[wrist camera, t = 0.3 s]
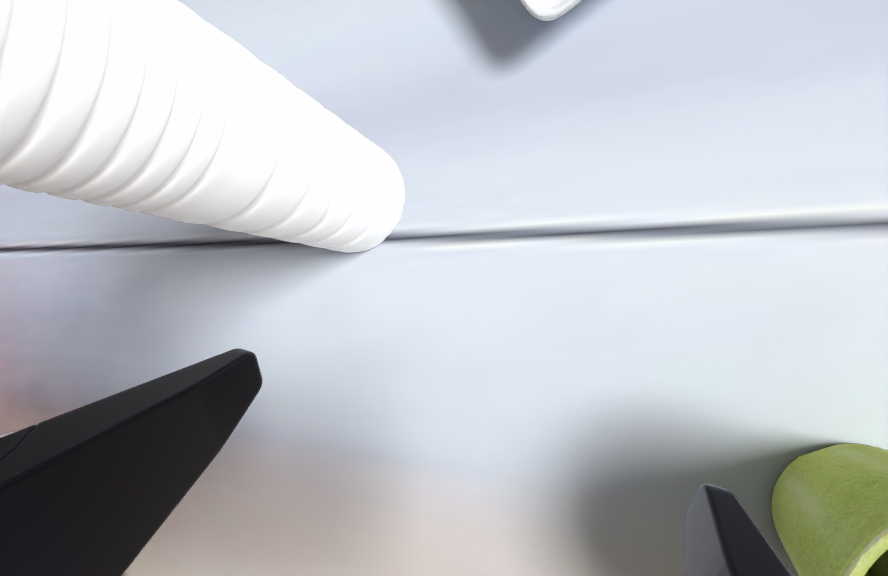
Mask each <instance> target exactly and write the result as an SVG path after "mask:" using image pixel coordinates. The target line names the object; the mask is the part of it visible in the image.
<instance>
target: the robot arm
mask: <svg viewBox="0 0 888 576" xmlns="http://www.w3.org/2000/svg"><path fill="white" fill-rule="evenodd" d="M261 386H262V376H261V372H260V369H259V365H258V361H257V358H256V355H255V354H254V353H252V352H250V351H246V350H243V349H233V350H230V351H228V352H225V353H223V354H220V355H217V356H215V357H212V358H209V359H207V360H204V361H201V362H199V363H196V364H194V365H191V366H188V367H186V368H183V369H180V370H178V371H175V372H172V373H170V374H167V375H165V376H162V377H159V378H157V379H154V380H151V381H149V382H146V383H143V384H141V385H138V386H136V387H133V388H130V389H128V390H125V391H122V392H120V393H117V394H114V395H112V396H109V397H107V398H104V399H101V400H99V401H96V402H93V403H91V404H88V405H85V406H83V407H80V408H78V409H75V410H72V411H70V412H67V413H64V414H62V415H59V416H57V417H54V418H51V419H49V420H46V421H43V422H41V423H39V424H38V425H32V426H30V427H27V428H25V429H22V430H19V431H17V432H14V433H12V434H9V435H6V436H4V437H1V438H0V576H122V575H123V573H124V572H125V571H126V569H127V568H128V567H129V566H130V564H131V563H132V562H133V561H134V559H135V558H136V557H137V555H138V554H139V553H140V552H141V550H142V549H143V548H144V547H145V545H146V544H147V543H148V542H149V540H150V539H151V538H152V536H153V535H154V534H155V533H156V531H157V530H158V529H159V528H160V526H161V525H162V524H163V522H164V521H165V520H166V519H167V517H168V516H169V515H170V514H171V512H172V511H173V510H174V509H175V507H176V506H177V505H178V503H179V502H180V501H181V500H182V498H183V497H184V496H185V495H186V493H187V492H188V491H189V489H190V488H191V487H192V486H193V484H194V483H195V482H196V481H197V479H198V478H199V477H200V476H201V474H202V473H203V472H204V470H205V469H206V468H207V467H208V465H209V464H210V463H211V462H212V460H213V459H214V458H215V456H216V455H217V454H218V452H219V451H220V450H221V448H222V447H223V445H224V444H225V443H226V441H227V440H228V438H229V437H230V435H231V434H232V432H233V430H234V429H235V427H236V426H237V424H238V423H239V421H240V420H241V418H242V417H243V415H244V414H245V412H246V411H247V409H248V407H249V406H250V404H251V403H252V401H253V400H254V398H255V397H256V395H257V394H258V392H259V390H260V388H261ZM684 576H792V575H791V573H790V572H789V571H788V569H787V568H786V566H785V565H784V563H783V562H782V561H781V559H780V558H779V556H778V555H777V554H776V552H775V551H774V549H773V548H772V547H771V545H770V544H769V542H768V541H767V540H766V538H765V537H764V535H763V534H762V532H761V531H760V530H759V528H758V527H757V525H756V524H755V523H754V521H753V520H752V518H751V517H750V516H749V514H748V513H747V511H746V510H745V509H744V507H743V506H742V504H741V503H740V501H739V500H738V499H737V497H736V496H735V495H734V494H733V493H732V492H731V491H730V490H728V489H725V488H722V487H718V486H715V485H711V484H708V483H704V484H702V485H700V487H699V488H698V490H697V492H696V494H695V496H694V497H693V499H692V501H691V503H690V505H689V507H688V509H687V511H686V514H685V518H684Z"/></svg>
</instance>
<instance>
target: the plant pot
mask: <svg viewBox="0 0 888 576" xmlns="http://www.w3.org/2000/svg"><path fill="white" fill-rule="evenodd" d="M771 511H772V518H773V522H774V525H775V528H776V531H777V533H778V536H779V538H780V540H781V542H782V544H783V546H784V548H785V550H786V552H787V554H788V556H789V558H790V560H791V562H792V564H793V566H794V567H795V569H796V571H797V573H798V575H799V576H888V451H887V450H884V449H881V448H877V447H873V446H868V445H861V444H837V445H834V446H830V447H826V448H823V449H820V450H817V451H814V452H811V453H808V454H805V455H801V456H799V457H798V458H796V459H795V460H794V461H792V462H791V463H790V464H789V465H788V466H787V467H786V468H785V470H784V471H783V472H782V473H781V475H780V476H779V478H778V480H777V481H776V484H775V487H774V490H773V495H772V502H771Z"/></svg>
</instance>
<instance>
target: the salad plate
mask: <svg viewBox="0 0 888 576" xmlns="http://www.w3.org/2000/svg"><path fill="white" fill-rule="evenodd" d="M520 1H521V3H522V4H523V5H524V7H525V8H526V9H527V11H528V12H529V13H530V14H532V15H533V16H534V17H535V18H537V19H539V20H543V21H550V20H555V19H557V18H558V17H560V16H562V15H564V14H565V13H567V12H568V11H569V10H571V9H572V8H573V7H575V6H576V5H577V4H579V3H580V2H581V1H582V0H520Z"/></svg>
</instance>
